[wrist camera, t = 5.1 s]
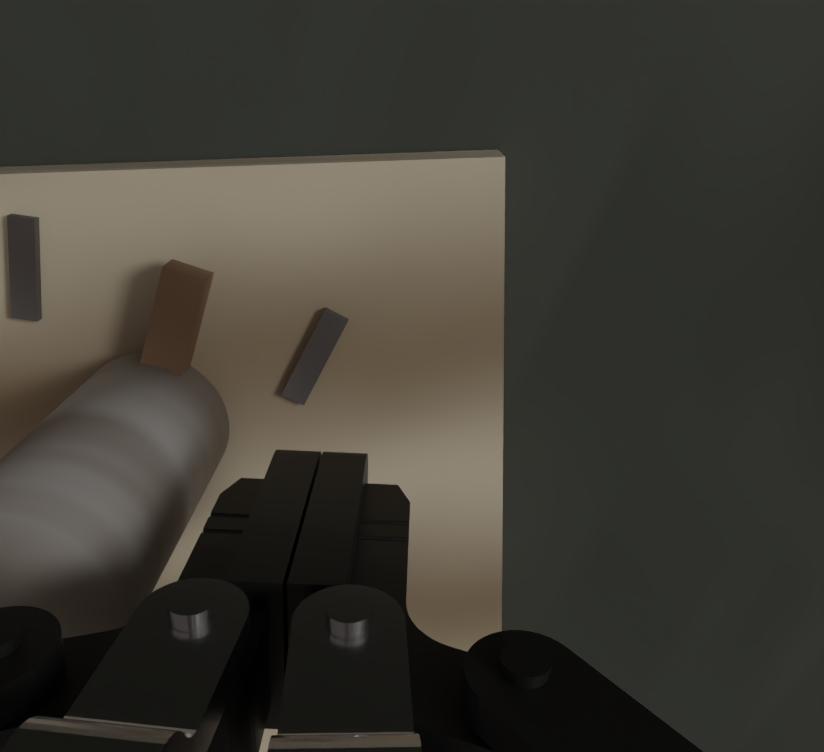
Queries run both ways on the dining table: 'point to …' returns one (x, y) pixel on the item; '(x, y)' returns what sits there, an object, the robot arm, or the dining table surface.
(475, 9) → the dining table surface
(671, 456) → the dining table surface
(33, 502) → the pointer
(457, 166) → the board
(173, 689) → the robot arm
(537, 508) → the dining table surface
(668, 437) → the dining table surface
